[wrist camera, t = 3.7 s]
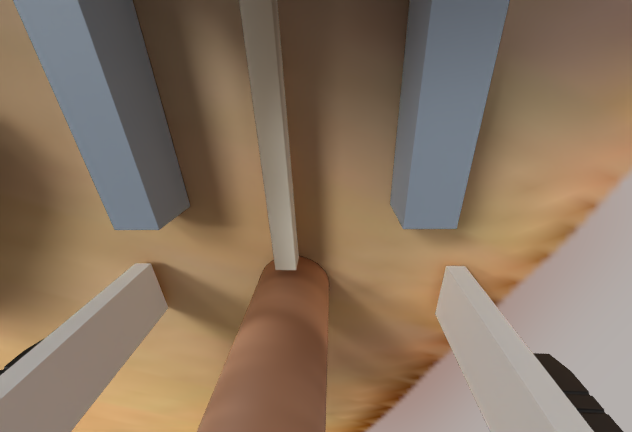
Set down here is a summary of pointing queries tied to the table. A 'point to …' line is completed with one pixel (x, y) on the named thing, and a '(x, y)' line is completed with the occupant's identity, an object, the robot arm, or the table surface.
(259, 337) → the wooden mallet
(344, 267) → the table surface
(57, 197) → the table surface
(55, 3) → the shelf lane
